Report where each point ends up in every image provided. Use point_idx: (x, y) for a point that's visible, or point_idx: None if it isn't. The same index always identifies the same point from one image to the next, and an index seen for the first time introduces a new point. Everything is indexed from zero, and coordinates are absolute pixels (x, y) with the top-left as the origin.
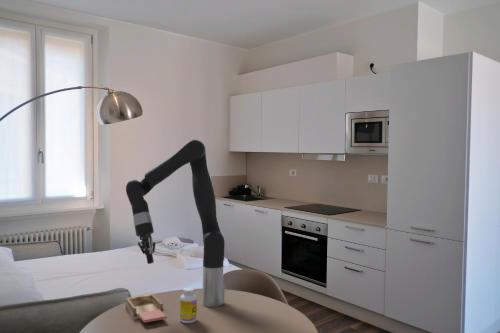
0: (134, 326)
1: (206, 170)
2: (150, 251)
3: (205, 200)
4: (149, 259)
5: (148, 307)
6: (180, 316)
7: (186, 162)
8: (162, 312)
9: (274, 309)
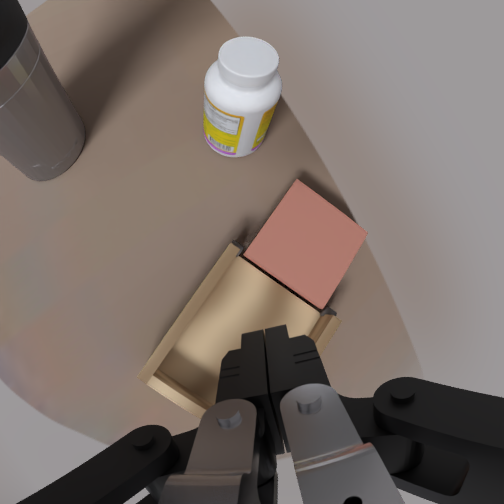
0: (365, 273)
1: None
2: (305, 416)
3: None
4: (319, 356)
5: (222, 333)
6: (262, 139)
7: None
8: (270, 217)
9: (68, 6)
